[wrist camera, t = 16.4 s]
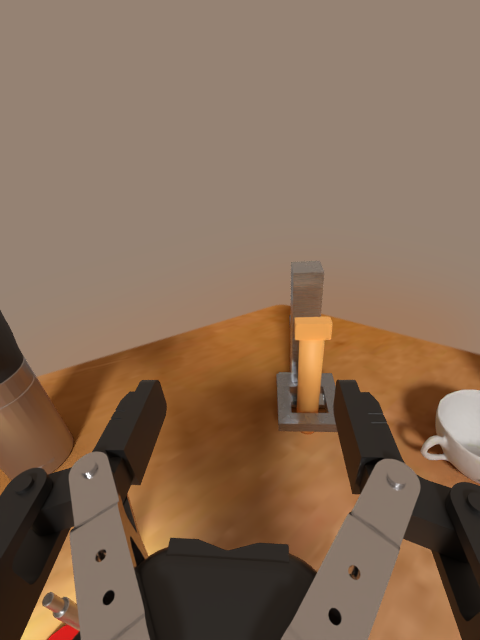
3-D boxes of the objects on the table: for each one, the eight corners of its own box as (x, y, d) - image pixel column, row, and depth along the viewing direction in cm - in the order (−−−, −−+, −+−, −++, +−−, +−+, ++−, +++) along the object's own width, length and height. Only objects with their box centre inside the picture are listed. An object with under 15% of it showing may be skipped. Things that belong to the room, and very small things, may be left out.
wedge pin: (293, 433, 45) (296, 328, 35) (291, 417, 48) (294, 314, 38) (322, 434, 45) (333, 327, 34) (318, 417, 48) (328, 313, 37)
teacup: (487, 421, 45) (508, 383, 40) (569, 509, 34) (610, 470, 30) (389, 430, 45) (400, 393, 40) (441, 521, 34) (463, 484, 30)
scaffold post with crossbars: (341, 451, 42) (365, 309, 30) (279, 449, 43) (276, 312, 31) (314, 338, 66) (321, 232, 53) (274, 339, 67) (272, 235, 54)
